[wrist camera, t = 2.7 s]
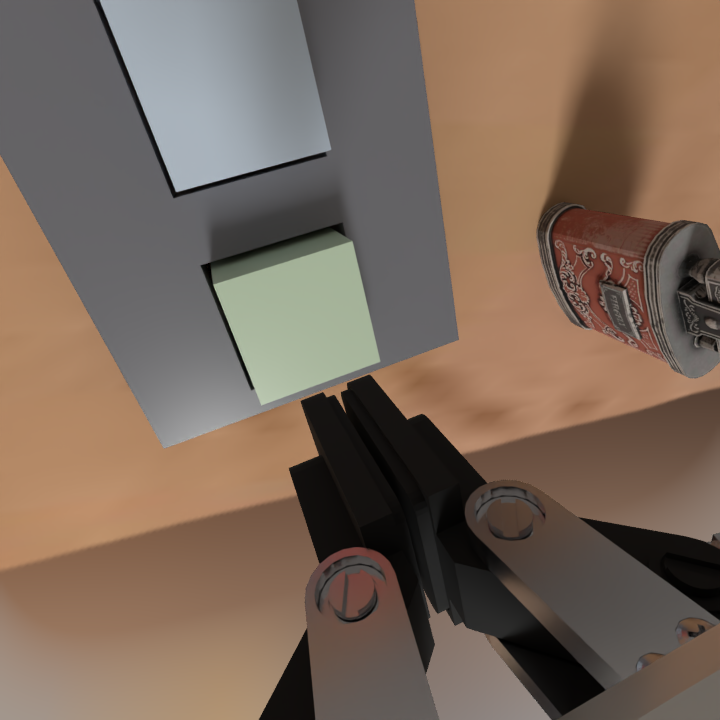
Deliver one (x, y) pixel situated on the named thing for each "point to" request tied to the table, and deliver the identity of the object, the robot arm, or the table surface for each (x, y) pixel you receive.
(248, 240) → the button panel
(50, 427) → the table surface
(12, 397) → the table surface
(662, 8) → the table surface
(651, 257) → the lighter
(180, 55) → the bluegrey button
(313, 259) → the sage button
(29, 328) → the table surface
